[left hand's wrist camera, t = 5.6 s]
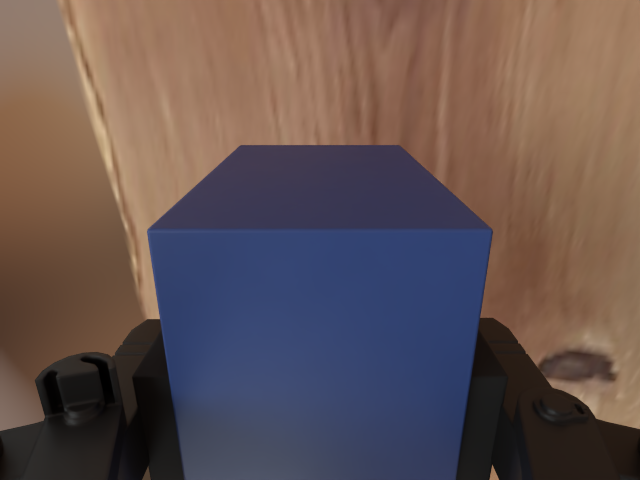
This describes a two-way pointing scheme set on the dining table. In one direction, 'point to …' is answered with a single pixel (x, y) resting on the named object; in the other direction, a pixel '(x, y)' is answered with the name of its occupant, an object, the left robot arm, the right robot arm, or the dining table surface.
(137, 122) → the dining table surface
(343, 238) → the block
